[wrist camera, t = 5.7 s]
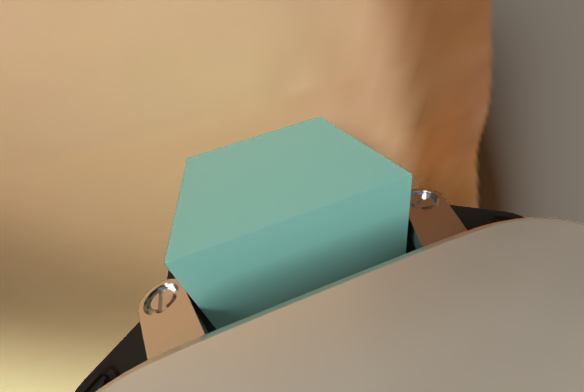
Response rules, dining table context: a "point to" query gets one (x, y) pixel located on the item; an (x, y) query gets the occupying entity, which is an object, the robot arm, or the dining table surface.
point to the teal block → (284, 218)
